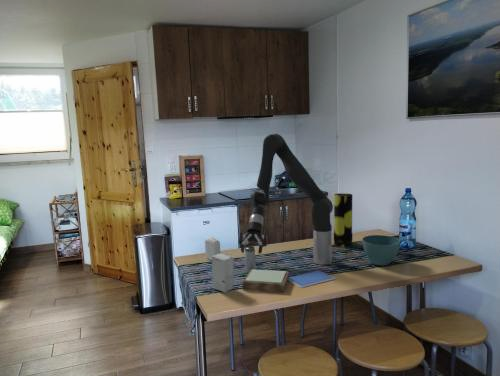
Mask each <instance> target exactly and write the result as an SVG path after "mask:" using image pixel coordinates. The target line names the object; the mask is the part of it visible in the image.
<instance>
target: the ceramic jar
mask: <svg viewBox="0 0 500 376" xmlns="http://www.w3.org/2000/svg"><path fill="white" fill-rule="evenodd" d="M244 268H245V269H244V272H245V273H247V274H248V273H249V272H250V270H251V269H256V249H255V246H245V249H244Z"/></svg>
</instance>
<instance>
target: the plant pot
mask: <svg viewBox="0 0 500 376" xmlns="http://www.w3.org/2000/svg"><path fill="white" fill-rule="evenodd" d="M361 242H362V246H363V247H362V248H363V251H364V253H365V255H366V257H367V259H368V261H370V263H371V264H373V265H376V266H388V265H390V264H391V263H392V261H393V260H394V259H395V257H396V256H397V254H398V252H399V250H400V246H401V245H400V244H401V240H400V239H399V238H397V237H394V236H389V235H383V234H382V235H381V234H373V235H372V234H371V235H367V236H363V237H362V240H361Z"/></svg>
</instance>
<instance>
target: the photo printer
mask: <svg viewBox="0 0 500 376" xmlns="http://www.w3.org/2000/svg"><path fill="white" fill-rule="evenodd" d="M204 246H205V247H204V248H205V258H206V259H207V260H209V261H211V262H212V256H214V255H217V254H221V241H220V240H219V239H217V238H216V237H214V236H208V237H206V238H205V240H204Z"/></svg>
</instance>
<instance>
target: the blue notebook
mask: <svg viewBox="0 0 500 376" xmlns="http://www.w3.org/2000/svg"><path fill="white" fill-rule="evenodd" d="M335 279H336V278H335V277H334V276H332V275H329V274H327V273H325V272H323V271H321V270H315V271H311V272H306V273H303V274H297V275H294V276H290V277H289V278H288V282H289V283H292V285H295V286H297V287H298V288H301V289H302V288H306V287H310V286H314V285H317V284H322V283H326V282H329V281H334V280H335Z"/></svg>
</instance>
